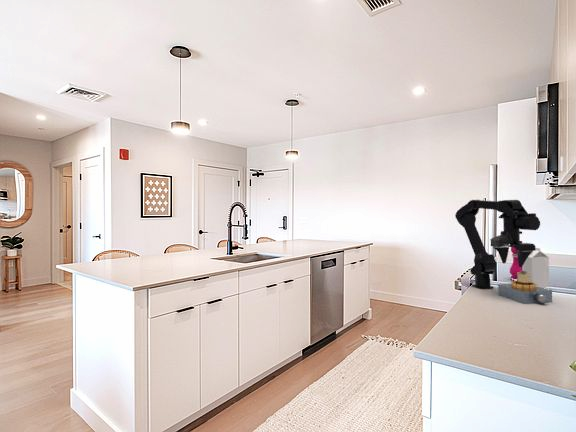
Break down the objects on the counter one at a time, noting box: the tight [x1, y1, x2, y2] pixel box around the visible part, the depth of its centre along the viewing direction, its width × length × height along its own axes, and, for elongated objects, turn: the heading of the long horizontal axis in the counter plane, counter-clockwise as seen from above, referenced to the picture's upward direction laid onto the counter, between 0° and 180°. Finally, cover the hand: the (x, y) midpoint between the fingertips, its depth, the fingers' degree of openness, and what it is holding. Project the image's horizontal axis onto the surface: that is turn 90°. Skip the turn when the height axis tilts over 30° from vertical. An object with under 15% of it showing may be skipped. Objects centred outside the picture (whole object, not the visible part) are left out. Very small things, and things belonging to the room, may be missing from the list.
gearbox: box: [497, 280, 553, 305], centre depth 135 cm, size 17×12×6 cm
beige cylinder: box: [517, 271, 530, 285], centre depth 136 cm, size 4×4×7 cm
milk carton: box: [522, 247, 550, 288], centre depth 150 cm, size 7×7×19 cm
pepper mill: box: [509, 245, 522, 279], centre depth 166 cm, size 7×7×20 cm
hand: (512, 265), depth 141 cm, fingers open, 9 cm apart
